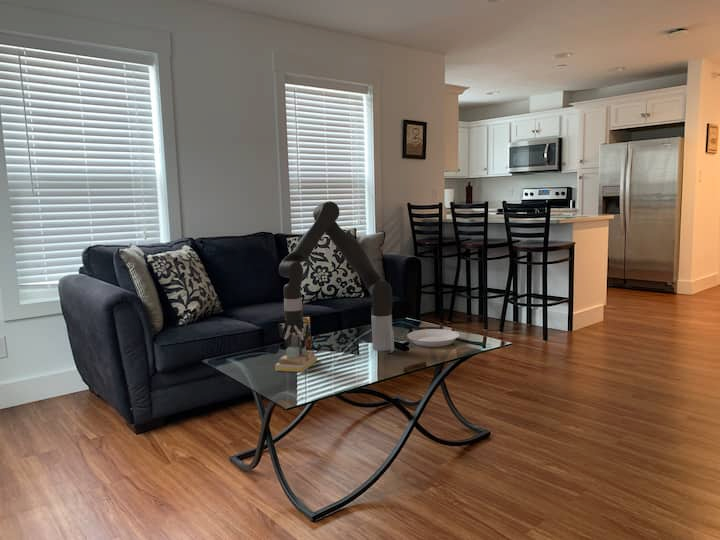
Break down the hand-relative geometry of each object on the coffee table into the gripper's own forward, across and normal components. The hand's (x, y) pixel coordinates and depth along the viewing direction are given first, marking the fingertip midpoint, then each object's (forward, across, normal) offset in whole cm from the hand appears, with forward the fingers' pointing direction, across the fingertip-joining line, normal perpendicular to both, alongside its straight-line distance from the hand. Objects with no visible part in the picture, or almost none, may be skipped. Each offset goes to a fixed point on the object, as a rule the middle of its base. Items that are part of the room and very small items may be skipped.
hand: (295, 347), depth 233 cm
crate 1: (+3, 0, +3) cm, 5 cm away
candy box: (+9, +10, -31) cm, 34 cm away
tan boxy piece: (+5, 0, 0) cm, 5 cm away
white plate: (+10, -50, -51) cm, 72 cm away
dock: (+9, 0, 0) cm, 9 cm away
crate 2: (+3, 0, -4) cm, 5 cm away
